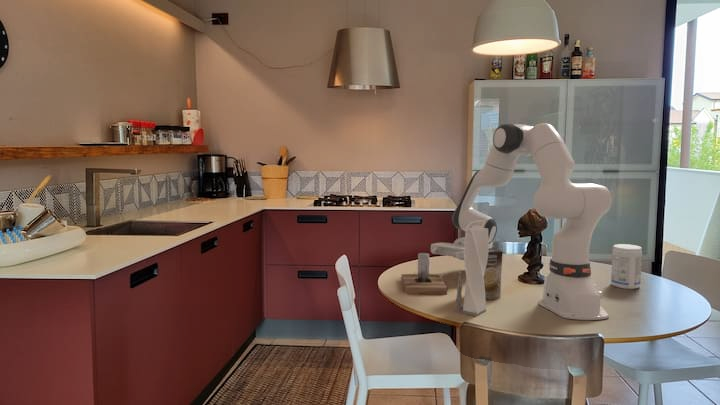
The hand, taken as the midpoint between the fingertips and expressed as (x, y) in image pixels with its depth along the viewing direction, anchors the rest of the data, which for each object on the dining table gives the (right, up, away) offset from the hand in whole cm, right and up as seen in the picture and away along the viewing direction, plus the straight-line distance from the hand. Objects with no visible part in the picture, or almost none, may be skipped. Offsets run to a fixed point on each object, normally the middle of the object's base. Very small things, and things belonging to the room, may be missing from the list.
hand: (444, 253), depth 195 cm
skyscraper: (+3, -15, -34) cm, 37 cm away
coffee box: (+10, -13, -19) cm, 25 cm away
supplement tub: (+65, -12, -5) cm, 66 cm away
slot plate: (-9, -11, -8) cm, 16 cm away
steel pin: (-9, -11, -8) cm, 16 cm away
